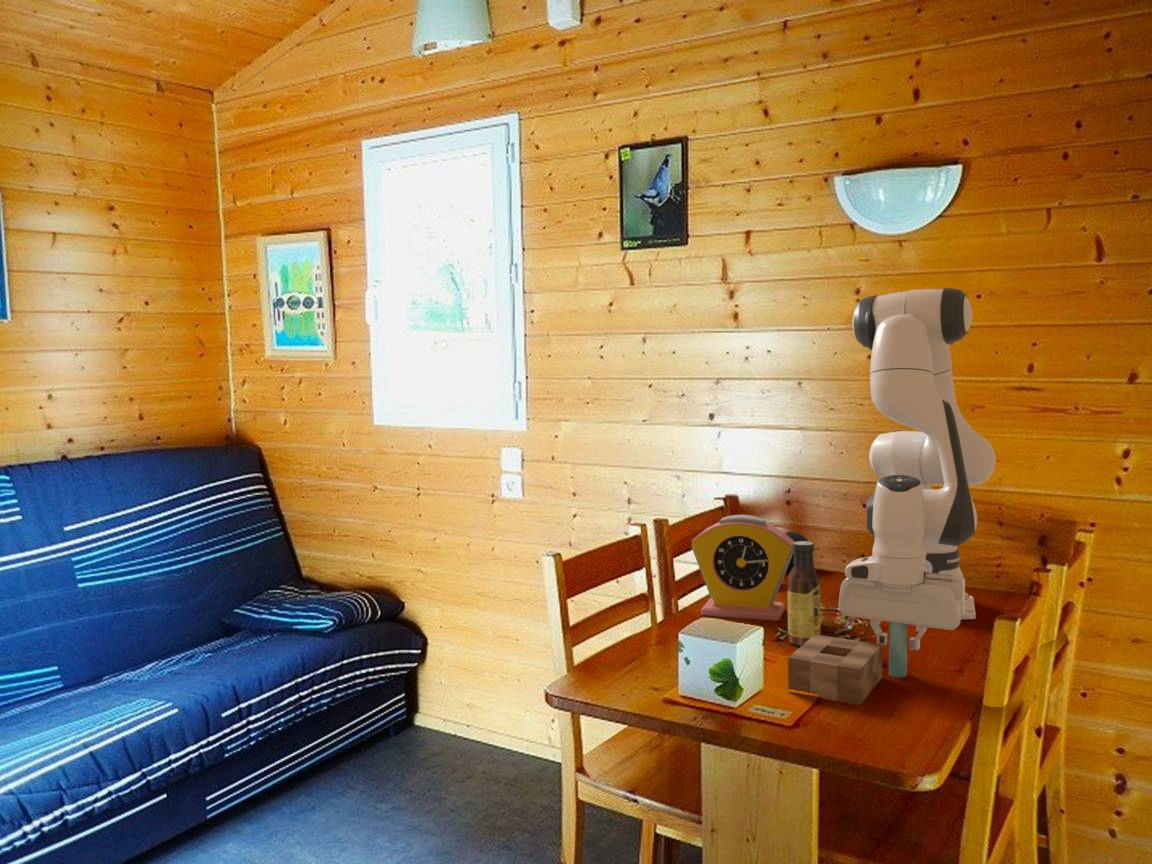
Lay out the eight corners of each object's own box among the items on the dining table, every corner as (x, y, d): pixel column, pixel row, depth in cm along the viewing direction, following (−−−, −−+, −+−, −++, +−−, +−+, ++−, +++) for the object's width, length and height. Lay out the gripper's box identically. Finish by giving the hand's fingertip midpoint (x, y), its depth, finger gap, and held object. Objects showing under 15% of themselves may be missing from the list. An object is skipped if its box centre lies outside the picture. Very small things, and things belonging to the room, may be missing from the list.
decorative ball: (820, 572, 235) (820, 533, 234) (789, 577, 230) (789, 538, 229) (793, 564, 244) (793, 526, 243) (763, 569, 239) (763, 531, 238)
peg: (891, 670, 165) (891, 615, 164) (908, 673, 164) (909, 618, 163) (887, 675, 163) (887, 620, 162) (904, 678, 161) (905, 622, 160)
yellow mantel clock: (688, 615, 202) (687, 517, 199) (698, 603, 210) (697, 510, 208) (791, 623, 194) (791, 522, 192) (797, 611, 202) (797, 514, 200)
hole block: (814, 666, 168) (814, 634, 167) (881, 677, 162) (882, 644, 161) (788, 692, 156) (788, 657, 156) (859, 705, 150) (859, 669, 149)
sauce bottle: (821, 648, 178) (821, 547, 176) (788, 647, 179) (787, 546, 177) (819, 637, 184) (819, 539, 182) (787, 636, 185) (786, 539, 183)
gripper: (965, 571, 158) (964, 650, 160) (846, 559, 169) (846, 632, 171) (958, 580, 153) (957, 661, 154) (836, 567, 164) (835, 642, 165)
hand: (898, 646), depth 163 cm, fingers open, 4 cm apart
